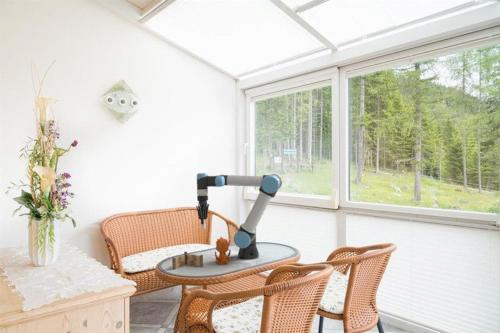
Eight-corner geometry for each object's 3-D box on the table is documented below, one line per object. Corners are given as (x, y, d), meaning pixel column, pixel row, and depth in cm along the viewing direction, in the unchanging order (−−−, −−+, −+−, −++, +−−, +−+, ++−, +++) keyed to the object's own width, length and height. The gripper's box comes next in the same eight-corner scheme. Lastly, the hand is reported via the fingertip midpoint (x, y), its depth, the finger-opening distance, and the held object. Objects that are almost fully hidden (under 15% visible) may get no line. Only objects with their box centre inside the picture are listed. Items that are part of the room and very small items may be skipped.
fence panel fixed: (185, 263, 233) (185, 251, 233) (188, 264, 232) (187, 251, 232) (172, 269, 221) (172, 256, 221) (174, 270, 221) (174, 257, 220)
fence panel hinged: (186, 264, 230) (186, 253, 230) (188, 263, 232) (188, 252, 232) (201, 267, 224) (201, 255, 224) (203, 266, 226) (202, 254, 226)
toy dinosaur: (227, 260, 240) (226, 234, 240) (233, 264, 231) (232, 237, 230) (212, 262, 236) (211, 236, 235) (217, 266, 226) (217, 239, 225)
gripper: (201, 196, 233) (202, 230, 234) (212, 194, 245) (213, 227, 245) (192, 196, 237) (193, 230, 237) (203, 194, 248) (204, 226, 249)
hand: (203, 228), depth 241 cm, fingers closed
